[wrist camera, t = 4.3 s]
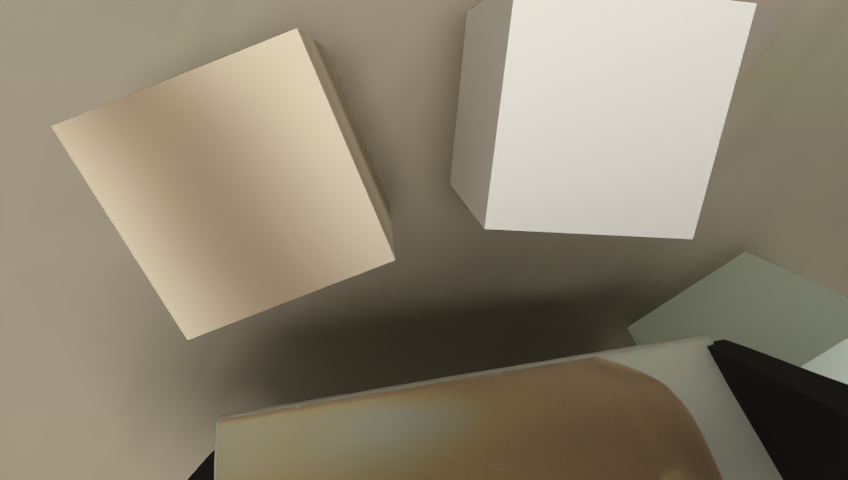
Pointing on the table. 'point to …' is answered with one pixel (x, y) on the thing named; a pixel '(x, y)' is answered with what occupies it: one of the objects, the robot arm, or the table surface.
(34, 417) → the table surface
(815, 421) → the robot arm
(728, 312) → the cube sage
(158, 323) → the table surface
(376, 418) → the skincare box
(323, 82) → the cube beech
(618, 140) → the cube cream
